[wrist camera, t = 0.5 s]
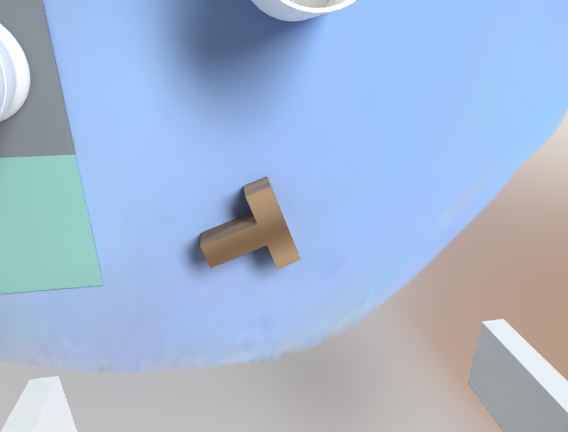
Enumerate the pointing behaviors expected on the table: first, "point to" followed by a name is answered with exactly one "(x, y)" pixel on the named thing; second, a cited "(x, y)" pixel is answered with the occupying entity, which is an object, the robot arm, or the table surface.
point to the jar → (12, 75)
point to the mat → (41, 175)
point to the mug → (299, 8)
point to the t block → (252, 230)
